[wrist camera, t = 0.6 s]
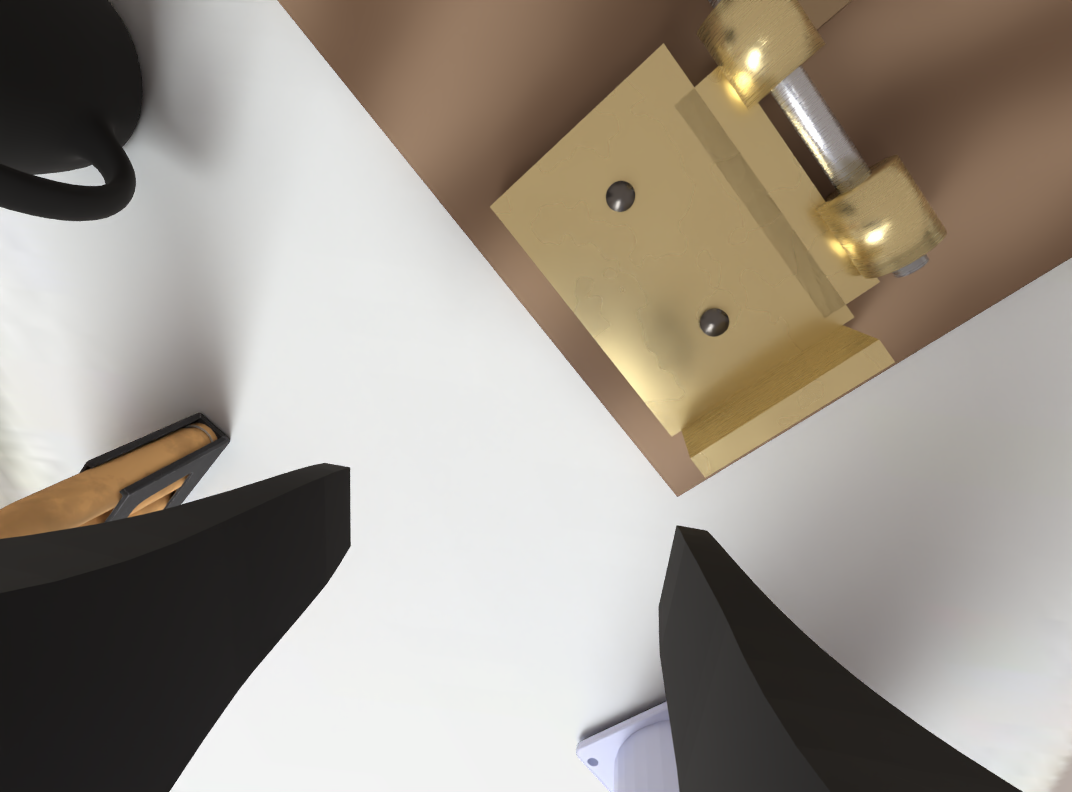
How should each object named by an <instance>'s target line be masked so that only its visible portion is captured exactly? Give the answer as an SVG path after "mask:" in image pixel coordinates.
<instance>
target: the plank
mask: <svg viewBox="0 0 1072 792" xmlns="http://www.w3.org/2000/svg"><path fill="white" fill-rule="evenodd" d="M278 1H279V3H280V4H281V5H282V6H283V8H284V9H285V10H286V11H287V13H288V14H289V15H290V16H291V18H292V19H293V20H294V21H295V23H296V24H297V25H298V26H299V28H300V29H301V30H302V31H303V33H304V34H305V35H306V36H307V38H308V39H309V40H310V41H311V42H312V44H313V45H314V46H315V47H316V49H317V50H318V51H319V52H320V54H321V55H322V56H323V57H324V59H325V60H326V61H327V62H328V64H329V65H330V66H331V67H332V69H333V70H334V71H335V72H336V74H337V75H338V76H339V77H340V78H341V80H342V81H343V82H344V83H345V85H346V86H347V87H348V88H349V90H350V91H351V92H352V93H353V95H354V96H355V97H356V98H357V100H358V101H359V102H360V103H361V105H362V106H363V107H364V108H365V110H366V111H367V112H368V113H369V114H370V116H371V117H372V118H373V119H374V121H375V122H376V123H377V124H378V126H379V127H380V128H381V129H382V131H383V132H384V133H385V134H386V136H387V137H388V138H389V139H390V141H391V142H392V143H393V144H394V146H395V147H396V148H397V149H398V151H399V152H400V153H401V154H402V155H403V157H404V158H405V159H406V160H407V162H408V163H409V164H410V165H411V167H412V168H413V169H414V170H415V172H416V173H417V174H418V175H419V177H420V178H421V179H422V180H423V182H424V183H425V184H426V185H427V187H428V188H429V189H430V190H431V191H432V193H433V194H434V195H435V196H436V198H437V199H438V200H439V201H440V203H441V204H442V205H443V206H444V208H445V209H446V210H447V211H448V213H449V214H450V215H451V216H452V218H453V219H454V220H455V221H456V223H457V224H458V225H459V226H460V227H461V229H462V230H463V231H464V232H465V234H466V235H467V236H468V237H469V239H470V240H471V241H472V242H473V244H474V245H475V246H476V247H477V249H478V250H479V251H480V252H481V254H482V255H483V256H484V257H485V259H486V260H487V261H488V262H489V264H490V265H491V266H492V267H493V268H494V270H495V271H496V272H497V273H498V275H499V276H500V277H501V278H502V280H503V281H504V282H505V283H506V285H507V286H508V287H509V288H510V290H511V291H512V292H513V293H514V295H515V296H516V297H517V298H518V300H519V301H520V302H521V303H522V304H523V306H524V307H525V308H526V309H527V311H528V312H529V313H530V314H531V316H532V317H533V318H534V319H535V321H536V322H537V323H538V324H539V326H540V327H541V328H542V329H543V331H544V332H545V333H546V334H547V336H548V337H549V338H550V339H551V340H552V342H553V343H554V344H555V345H556V347H557V348H558V349H559V350H560V352H561V353H562V354H563V355H564V357H565V358H566V359H567V360H568V362H569V363H570V364H571V365H572V367H573V368H574V369H575V370H576V372H577V373H578V374H579V375H580V377H581V378H582V379H583V380H584V381H585V383H586V384H587V385H588V386H589V388H590V389H591V390H592V391H593V393H594V394H595V395H596V396H597V398H598V399H599V400H600V401H601V403H602V404H603V405H604V406H605V408H606V409H607V410H608V411H609V413H610V414H611V415H612V416H613V417H614V419H615V420H616V421H617V422H618V424H619V425H620V426H621V427H622V429H623V430H624V431H625V432H626V434H627V435H628V436H629V437H630V439H631V440H632V441H633V442H634V444H635V445H636V446H637V447H638V449H639V450H640V451H641V452H642V453H643V455H644V456H645V457H646V458H647V460H648V461H649V462H650V463H651V465H652V466H653V467H654V468H655V470H656V471H657V472H658V473H659V475H660V476H661V477H662V478H663V480H664V481H665V482H666V483H667V485H668V486H669V487H670V488H671V490H672V491H673V492H674V493H675V494H676V496H677V497H678V496H680V495H682V494H683V493H685V492H687V491H688V490H690V489H691V488H693V487H695V486H696V485H698V484H700V483H701V482H703V481H705V480H706V479H708V478H710V477H711V476H713V475H714V474H716V473H718V472H719V471H721V470H723V469H724V468H726V467H728V466H729V465H731V464H733V463H734V462H736V461H738V460H739V459H741V458H742V457H744V456H746V455H747V454H749V453H751V452H752V451H754V450H756V449H757V448H759V447H761V446H762V445H764V444H765V443H767V442H769V441H770V440H772V439H774V438H775V437H777V436H779V435H780V434H782V433H784V432H785V431H787V430H789V429H790V428H792V427H793V426H795V425H797V424H798V423H800V422H802V421H803V420H805V419H807V418H808V417H810V416H812V415H813V414H815V413H817V412H818V411H820V410H821V409H823V408H825V407H826V406H828V405H830V404H831V403H833V402H835V401H836V400H838V399H840V398H841V397H843V396H844V395H846V394H848V393H849V392H851V391H853V390H854V389H856V388H858V387H859V386H861V385H863V384H864V383H866V382H868V381H869V380H871V379H872V378H874V377H876V376H877V375H879V374H881V373H882V372H884V371H886V370H887V369H889V368H891V367H892V366H894V365H895V364H897V363H899V362H900V361H902V360H904V359H905V358H907V357H909V356H910V355H912V354H914V353H915V352H917V351H919V350H920V349H922V348H923V347H925V346H927V345H928V344H930V343H932V342H933V341H935V340H937V339H938V338H940V337H942V336H943V335H945V334H946V333H948V332H950V331H951V330H953V329H955V328H956V327H958V326H960V325H961V324H963V323H965V322H966V321H968V320H970V319H971V318H973V317H974V316H976V315H978V314H979V313H981V312H983V311H984V310H986V309H988V308H989V307H991V306H993V305H994V304H996V303H998V302H999V301H1001V300H1002V299H1004V298H1006V297H1007V296H1009V295H1011V294H1012V293H1014V292H1016V291H1017V290H1019V289H1021V288H1022V287H1024V286H1025V285H1027V284H1029V283H1030V282H1032V281H1034V280H1035V279H1037V278H1039V277H1040V276H1042V275H1044V274H1045V273H1047V272H1049V271H1050V270H1052V269H1053V268H1055V267H1057V266H1058V265H1060V264H1062V263H1063V262H1065V261H1067V260H1068V259H1070V258H1072V0H853V1H851V2H850V3H849V4H848V5H847V6H846V7H844V8H843V9H842V10H841V11H840V12H839V13H837V14H836V15H835V16H834V17H833V18H832V19H830V20H829V21H828V22H827V23H826V24H824V25H823V26H822V27H821V28H820V29H819V30H817V31H818V33H819V34H820V36H821V37H822V39H823V40H824V42H825V43H826V44H825V45H824V46H823V47H822V48H821V49H820V50H819V51H818V52H817V53H816V54H815V55H814V56H812V57H811V58H810V59H809V60H808V61H807V62H806V63H804V64H803V65H802V67H803V68H804V70H805V71H806V73H807V74H808V76H809V77H810V79H811V80H812V82H813V83H814V85H815V86H816V88H817V89H818V91H819V92H820V94H821V95H822V97H823V98H824V100H825V101H826V103H827V105H828V106H829V108H830V109H831V111H832V112H833V114H834V115H835V117H836V118H837V120H838V121H839V123H840V124H841V126H842V127H843V129H844V130H845V132H846V133H847V135H848V136H849V138H850V139H851V141H852V142H853V144H854V145H855V147H856V148H857V150H858V151H859V153H860V155H861V156H862V158H863V159H864V161H865V162H866V164H867V165H868V167H870V166H872V165H874V164H876V163H878V162H879V161H881V160H883V159H885V158H888V157H890V156H893V155H898V156H899V158H900V159H901V161H902V162H903V164H904V165H905V167H906V168H907V170H908V172H909V173H910V175H911V176H912V178H913V179H914V181H915V182H916V184H917V185H918V187H919V189H920V190H921V192H922V193H923V195H924V196H925V198H926V199H927V201H928V202H929V204H930V205H931V207H932V209H933V210H934V212H935V213H936V215H937V216H938V218H939V219H940V221H941V222H942V224H943V226H944V227H945V229H946V230H947V234H946V236H945V238H944V239H943V240H942V241H941V242H940V243H939V244H938V245H937V246H936V247H934V248H933V249H932V250H931V251H929V252H928V253H926V255H927V256H928V258H929V261H928V263H927V264H926V265H925V266H923V267H922V268H920V269H919V270H917V271H916V272H914V273H912V274H909V275H907V276H904V277H901V278H895V276H894V275H893V274H892V272H891V273H889V274H886V275H883V276H880V277H877V278H878V280H879V281H880V282H879V283H878V284H876V285H875V286H873V287H872V288H870V289H869V290H867V291H866V292H864V293H863V294H861V295H860V296H858V297H857V298H855V299H854V300H852V301H851V302H849V303H848V304H846V306H847V307H848V308H849V310H850V311H851V313H852V314H853V316H854V318H853V319H851V320H850V321H848V322H847V323H845V324H843V325H844V326H846V327H849V328H851V329H854V330H856V331H859V332H862V333H864V334H867V335H869V336H872V337H874V338H877V339H879V340H880V341H881V343H882V344H883V345H884V347H885V348H886V350H887V351H888V353H889V354H890V356H891V357H892V358H893V360H894V361H895V363H893V364H892V365H890V366H888V367H887V368H885V369H883V370H882V371H880V372H878V373H877V374H875V375H874V376H872V377H870V378H869V379H867V380H865V381H864V382H862V383H860V384H859V385H857V386H856V387H854V388H852V389H851V390H849V391H847V392H846V393H844V394H842V395H841V396H839V397H837V398H836V399H834V400H833V401H831V402H829V403H828V404H826V405H824V406H823V407H821V408H819V409H818V410H816V411H814V412H813V413H811V414H810V415H808V416H806V417H805V418H803V419H801V420H800V421H798V422H796V423H795V424H793V425H791V426H790V427H788V428H787V429H785V430H783V431H782V432H780V433H778V434H777V435H775V436H773V437H772V438H770V439H769V440H767V441H765V442H764V443H762V444H760V445H759V446H757V447H755V448H754V449H752V450H750V451H749V452H747V453H746V454H744V455H742V456H741V457H739V458H737V459H736V460H734V461H732V462H731V463H729V464H727V465H726V466H724V467H723V468H721V469H719V470H718V471H716V472H714V473H713V474H711V475H709V476H708V477H706V478H705V477H704V475H703V474H702V473H701V472H700V470H699V469H698V468H697V467H696V465H695V464H694V463H693V461H692V460H691V459H690V456H689V453H688V450H687V447H686V444H685V441H684V438H683V434H682V431H680V432H678V433H677V434H675V435H674V436H672V437H671V435H670V434H669V433H668V431H667V430H666V429H665V428H664V426H663V425H662V424H661V423H660V421H659V420H658V419H657V418H656V416H655V415H654V414H653V412H652V411H651V410H650V409H649V407H648V406H647V405H646V404H645V402H644V401H643V400H642V399H641V397H640V396H639V395H638V394H637V392H636V391H635V390H634V388H633V387H632V386H631V385H630V383H629V382H628V381H627V380H626V378H625V377H624V376H623V375H622V373H621V372H620V371H619V369H618V368H617V367H616V366H615V364H614V363H613V362H612V361H611V359H610V358H609V357H608V356H607V354H606V353H605V352H604V351H603V349H602V348H601V347H600V345H599V344H598V343H597V342H596V340H595V339H594V338H593V337H592V335H591V334H590V333H589V332H588V330H587V329H586V328H585V326H584V325H583V324H582V323H581V321H580V320H579V319H578V318H577V316H576V315H575V314H574V313H573V311H572V310H571V309H570V307H569V306H568V305H567V304H566V302H565V301H564V300H563V299H562V297H561V296H560V295H559V294H558V292H557V291H556V290H555V289H554V287H553V286H552V285H551V283H550V282H549V281H548V280H547V278H546V277H545V276H544V275H543V273H542V272H541V271H540V270H539V268H538V267H537V266H536V264H535V263H534V262H533V261H532V259H531V258H530V257H529V256H528V254H527V253H526V252H525V251H524V249H523V248H522V247H521V246H520V244H519V243H518V242H517V240H516V239H515V238H514V237H513V235H512V234H511V233H510V232H509V230H508V229H507V228H506V227H505V225H504V224H503V223H502V221H501V220H500V219H499V218H498V216H497V215H496V214H495V213H494V211H493V210H492V209H491V208H490V206H491V205H492V204H493V203H494V202H495V201H496V200H497V199H498V198H500V197H501V196H502V195H503V194H504V193H505V192H506V191H507V190H508V189H509V188H510V187H511V186H512V185H513V184H514V183H515V182H517V181H518V180H519V179H520V178H521V177H522V176H523V175H524V174H525V173H526V172H527V171H528V170H529V169H530V168H531V167H532V166H534V165H535V164H536V163H537V162H538V161H539V160H540V159H541V158H542V157H543V156H544V155H545V154H546V153H547V152H548V151H549V150H551V149H552V148H553V147H554V146H555V145H556V144H557V143H558V142H559V141H560V140H561V139H562V138H563V137H564V136H565V135H566V134H568V133H569V132H570V131H571V130H572V129H573V128H574V127H575V126H576V125H577V124H578V123H579V122H580V121H581V120H582V119H583V118H585V117H586V116H587V115H588V114H589V113H590V112H591V111H592V110H593V109H594V108H595V107H596V106H597V105H598V104H599V103H600V102H602V101H603V100H604V99H605V98H606V97H607V96H608V95H609V94H610V93H611V92H612V91H613V90H614V89H615V88H616V87H617V86H619V85H620V84H621V83H622V82H623V81H624V80H625V79H626V78H627V77H628V76H629V75H630V74H631V73H632V72H633V71H634V70H636V69H637V68H638V67H639V66H640V65H641V64H642V63H643V62H644V61H645V60H646V59H647V58H648V57H649V56H650V55H651V54H653V53H654V52H655V51H656V50H657V49H658V48H659V47H660V46H661V45H662V44H663V43H664V45H665V46H666V47H667V49H668V50H669V52H670V53H671V55H672V56H673V58H674V59H675V60H676V62H677V63H678V65H679V66H680V68H681V69H682V70H683V72H684V73H685V75H686V76H687V78H688V79H689V80H690V82H691V83H692V85H693V86H694V87H695V86H697V85H698V84H699V83H700V82H701V81H702V80H703V79H704V78H706V77H707V76H708V75H709V74H710V73H711V72H712V71H713V70H715V69H716V68H717V67H718V65H717V64H716V62H715V61H714V59H713V58H712V56H711V55H710V53H709V52H708V50H707V49H706V47H705V46H704V45H703V43H702V42H701V40H700V39H699V37H698V36H697V32H698V29H699V28H700V26H701V25H702V23H703V22H704V20H705V19H706V18H707V16H708V15H709V14H710V13H711V12H712V10H713V9H714V8H713V7H712V5H711V4H710V2H709V1H708V0H278ZM758 103H759V105H760V106H761V108H762V109H763V111H764V112H765V114H766V115H767V117H768V118H769V120H770V121H771V123H772V124H773V125H774V127H775V128H776V130H777V131H778V133H779V134H780V136H781V137H782V139H783V140H784V142H785V143H786V145H787V146H788V148H789V149H790V150H791V152H792V153H793V155H794V156H795V158H796V159H797V161H798V162H799V164H800V165H801V167H802V168H803V170H804V171H805V172H806V174H807V175H808V177H809V178H810V180H811V181H812V183H813V184H814V186H815V187H816V189H817V190H818V192H819V193H820V194H821V196H822V197H823V199H825V198H826V197H827V196H829V195H830V194H831V193H832V192H834V191H835V190H836V189H835V188H834V186H833V185H832V183H831V182H830V180H829V179H828V177H827V176H826V174H825V173H824V171H823V170H822V168H821V167H820V165H819V164H818V162H817V161H816V159H815V158H814V157H813V155H812V154H811V152H810V151H809V149H808V148H807V146H806V145H805V143H804V142H803V140H802V139H801V137H800V136H799V134H798V133H797V131H796V130H795V128H794V127H793V125H792V124H791V122H790V121H789V119H788V118H787V117H786V115H785V114H784V112H783V111H782V109H781V108H780V106H779V105H778V103H777V102H776V100H775V99H774V97H773V96H772V94H771V93H769V94H768V95H767V96H766V97H765V98H763V99H762V100H761V101H760V102H758Z"/></svg>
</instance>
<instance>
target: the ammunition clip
mask: <svg viewBox="0 0 1072 792" xmlns="http://www.w3.org/2000/svg"><path fill="white" fill-rule="evenodd" d="M229 442H230V441H229V438H228V437H226V436H225V435H224V434H223V433H222V432H221V431H220V430H219V429H217V428H216V427H215V426H214V425H213V424H212V423H211V422H210V421H208V420H207V419H206V418H205V417H204V416H203V415H202V414H201V413H197V414H195V415H193V416H190V417H188V418H186V419H183V420H181V421H179V422H177V423H174V424H172V425H170V426H167V427H165V428H163V429H160V430H158V431H156V432H153V433H151V434H149V435H147V436H144V437H142V438H140V439H137V440H135V441H133V442H130V443H128V444H126V445H123V446H121V447H119V448H117V449H114V450H112V451H110V452H107V453H105V454H103V455H100V456H98V457H96V458H94V459H91V460H89V461H87V462H86V464H85V465H84V467H83V468H82V470H81V471H80V473H79V474H77V475H75V476H72V477H70V478H68V479H65V480H63V481H61V482H59V483H56V484H54V485H52V486H50V487H47V488H45V489H43V490H41V491H38V492H36V493H34V494H31V495H29V496H27V497H25V498H22V499H20V500H18V501H16V502H14V503H12V504H10V505H8V506H6V507H4V508H2V509H0V539H3V538H11V537H19V536H26V535H33V534H39V533H45V532H51V531H57V530H63V529H70V528H76V527H82V526H88V525H94V524H100V523H105V522H110V521H115V520H119V519H124V518H128V517H133V516H138V515H142V514H147V513H151V512H155V511H159V510H163V509H167V508H171V507H175V506H179V505H181V504H182V502H183V501H184V500H185V498H186V497H187V496H188V495H189V493H190V492H191V491H192V490H193V488H194V487H195V486H196V484H197V483H198V482H199V481H200V479H201V478H202V477H203V475H204V474H205V473H206V472H207V470H208V469H209V468H210V467H211V465H212V464H213V463H214V461H215V460H216V459H217V458H218V456H219V455H220V454H221V452H222V451H223V450H224V449H225V447H226V446H227V445H228V444H229Z"/></svg>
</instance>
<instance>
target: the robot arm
mask: <svg viewBox="0 0 1072 792" xmlns="http://www.w3.org/2000/svg"><path fill="white" fill-rule="evenodd" d="M350 546H351V542H350V467H344V466H339V465H333V464H328V463H322V464H317V465H312V466H308V467H305V468H301V469H298V470H294V471H291V472H288V473H284V474H281V475H278V476H275V477H272V478H269V479H265V480H262V481H259V482H256V483H253V484H250V485H246V486H243V487H240V488H237V489H234V490H231V491H227V492H224V493H220V494H217V495H213V496H210V497H206V498H203V499H199V500H196V501H192V502H189V503H185V504H182V505H179V506H175V507H171V508H167V509H163V510H159V511H155V512H151V513H147V514H142V515H138V516H133V517H128V518H124V519H119V520H115V521H110V522H105V523H100V524H94V525H88V526H82V527H76V528H70V529H63V530H57V531H51V532H45V533H39V534H33V535H26V536H19V537H11V538H3V539H0V792H169V791H170V790H171V788H172V787H173V785H174V784H175V782H176V781H177V779H178V778H179V776H180V775H181V773H182V772H183V770H184V769H185V767H186V766H187V764H188V763H189V761H190V760H191V758H192V757H193V755H194V754H195V752H196V751H197V749H198V748H199V746H200V745H201V743H202V742H203V740H204V739H205V737H206V736H207V734H208V733H209V731H210V730H211V729H212V727H213V726H214V724H215V723H216V721H217V720H218V719H219V717H220V716H221V714H222V713H223V711H224V710H225V709H226V707H227V706H228V704H229V703H230V701H231V700H232V699H233V697H234V696H235V694H236V693H237V692H238V690H239V689H240V688H241V686H242V685H243V684H244V683H245V681H246V680H247V679H248V677H249V676H250V675H251V674H252V672H253V671H254V670H255V669H256V667H257V666H258V665H259V664H260V663H261V662H262V660H263V659H264V658H265V657H266V656H267V654H268V653H269V652H270V651H271V650H272V649H273V647H274V646H275V645H276V644H277V643H278V642H279V640H280V639H281V638H282V637H283V636H284V634H285V633H286V632H287V631H288V630H289V629H290V627H291V626H292V625H293V624H294V623H295V622H296V620H297V619H298V618H299V617H300V616H301V614H302V613H303V612H304V611H305V610H306V608H307V607H308V606H309V605H310V604H311V602H312V601H313V600H314V599H315V598H316V596H317V595H318V594H319V593H320V592H321V590H322V589H323V588H324V587H325V585H326V584H327V583H328V581H329V580H330V578H331V577H332V575H333V574H334V572H335V571H336V569H337V568H338V566H339V564H340V563H341V561H342V559H343V558H344V556H345V554H346V553H347V551H348V549H349V548H350ZM659 644H660V658H661V666H662V673H663V680H664V686H665V693H666V700H667V701H666V702H664V703H662V704H660V705H658V706H655V707H653V708H651V709H649V710H647V711H645V712H643V713H640V714H638V715H636V716H634V717H632V718H630V719H627V720H625V721H623V722H621V723H619V724H617V725H615V726H612V727H610V728H608V729H606V730H604V731H602V732H600V733H597V734H595V735H593V736H591V737H589V738H587V739H585V740H582V741H580V742H579V743H578V744H577V748H576V755H577V756H578V758H579V759H580V760H581V761H582V762H583V763H584V764H585V766H586V767H587V768H588V769H589V770H590V771H591V772H592V773H593V774H594V775H595V776H596V777H597V778H598V780H599V781H600V782H601V783H602V784H603V785H604V786H605V787H606V788H607V789H608V790H609V791H610V792H1022V791H1021V790H1019V789H1017V788H1016V787H1014V786H1012V785H1011V784H1009V783H1008V782H1006V781H1005V780H1003V779H1001V778H1000V777H998V776H997V775H995V774H994V773H992V772H990V771H989V770H987V769H986V768H984V767H983V766H981V765H979V764H978V763H976V762H975V761H973V760H972V759H970V758H968V757H967V756H965V755H964V754H962V753H961V752H959V751H957V750H956V749H954V748H953V747H952V746H950V745H949V744H947V743H946V742H944V741H943V740H941V739H940V738H938V737H937V736H935V735H934V734H932V733H931V732H929V731H928V730H926V729H925V728H923V727H922V726H921V725H919V724H918V723H916V722H915V721H914V720H912V719H911V718H910V717H908V716H907V715H905V714H904V713H903V712H901V711H900V710H899V709H897V708H896V707H894V706H893V705H892V704H890V703H889V702H888V701H886V700H885V699H883V698H882V697H881V696H879V695H878V694H877V693H875V692H874V691H873V690H871V689H870V688H869V687H868V686H866V685H865V684H864V683H862V682H861V681H860V680H859V679H857V678H856V677H855V676H854V675H852V674H851V673H850V672H849V671H848V670H846V669H845V668H844V667H843V666H842V665H840V664H839V663H838V662H837V661H836V660H834V659H833V658H832V657H831V656H830V655H828V654H827V653H826V652H825V651H824V650H822V649H821V648H820V647H819V646H818V645H817V644H816V643H815V642H813V641H812V640H811V639H810V638H809V637H808V636H807V635H806V634H805V633H803V632H802V631H801V630H800V629H799V628H798V627H797V626H796V625H795V624H794V623H793V622H792V621H791V620H790V619H789V618H788V617H787V616H786V615H785V614H784V613H783V612H782V611H781V610H780V609H779V608H778V607H777V606H776V605H775V604H774V603H773V602H772V601H771V600H770V599H769V598H768V597H767V596H766V595H765V594H764V593H763V592H762V591H761V590H760V589H759V588H758V587H757V586H756V584H755V583H754V582H753V581H752V580H751V579H750V578H749V577H748V576H747V575H746V574H745V572H744V571H743V570H742V569H741V568H740V567H739V566H738V565H737V563H736V562H735V561H734V560H733V559H732V558H731V557H730V556H729V554H728V553H727V552H726V551H725V550H724V549H723V548H722V546H721V545H720V544H719V543H718V542H717V541H716V540H715V539H714V538H713V536H712V535H711V534H710V533H709V532H708V531H705V530H700V529H694V528H689V527H683V526H676V531H675V535H674V540H673V544H672V549H671V554H670V558H669V563H668V567H667V572H666V576H665V581H664V585H663V590H662V594H661V599H660V603H659Z"/></svg>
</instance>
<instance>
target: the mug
mask: <svg viewBox="0 0 1072 792" xmlns="http://www.w3.org/2000/svg"><path fill="white" fill-rule="evenodd" d="M141 102H142V80H141V72H140V66H139V62H138V58H137V54H136V51H135V48H134V45H133V42H132V40H131V37H130V35H129V33H128V31H127V29H126V27H125V25H124V23H123V21H122V20H121V18H120V17H119V15H118V14H117V12H116V11H115V9H114V8H113V6H112V5H111V3H110V2H109V1H108V0H0V207H3V208H6V209H9V210H13V211H17V212H21V213H25V214H29V215H33V216H39V217H44V218H49V219H57V220H65V221H89V220H98V219H103V218H107V217H110V216H112V215H114V214H116V213H118V212H120V211H121V210H122V209H123V208H125V207H126V206H127V204H128V203H129V202H130V200H131V199H132V197H133V194H134V192H135V186H136V178H135V172H134V169H133V167H132V164H131V162H130V160H129V158H128V156H127V155H126V153H125V151H124V150H123V148H122V146H123V145H124V144H125V143H126V142H127V141H128V139H129V137H130V136H131V134H132V132H133V130H134V128H135V126H136V123H137V121H138V117H139V113H140V109H141ZM90 165H93V166H95V167H96V168H97V169H98V170H99V172H100V173H101V174H102V176H103V178H104V180H105V183H106V184H105V185H102V186H81V185H72V184H67V183H62V182H57V181H53V180H49V179H45V178H41V177H38V176H35V175H36V174H47V173H57V172H64V171H70V170H75V169H79V168H84V167H87V166H90Z"/></svg>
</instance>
